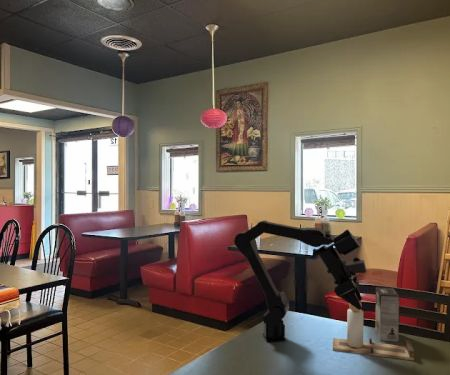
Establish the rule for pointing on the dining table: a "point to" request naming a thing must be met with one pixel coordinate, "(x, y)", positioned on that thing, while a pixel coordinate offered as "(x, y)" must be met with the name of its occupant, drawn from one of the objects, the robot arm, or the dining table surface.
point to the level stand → (376, 349)
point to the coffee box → (387, 314)
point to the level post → (354, 326)
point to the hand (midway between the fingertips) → (360, 304)
